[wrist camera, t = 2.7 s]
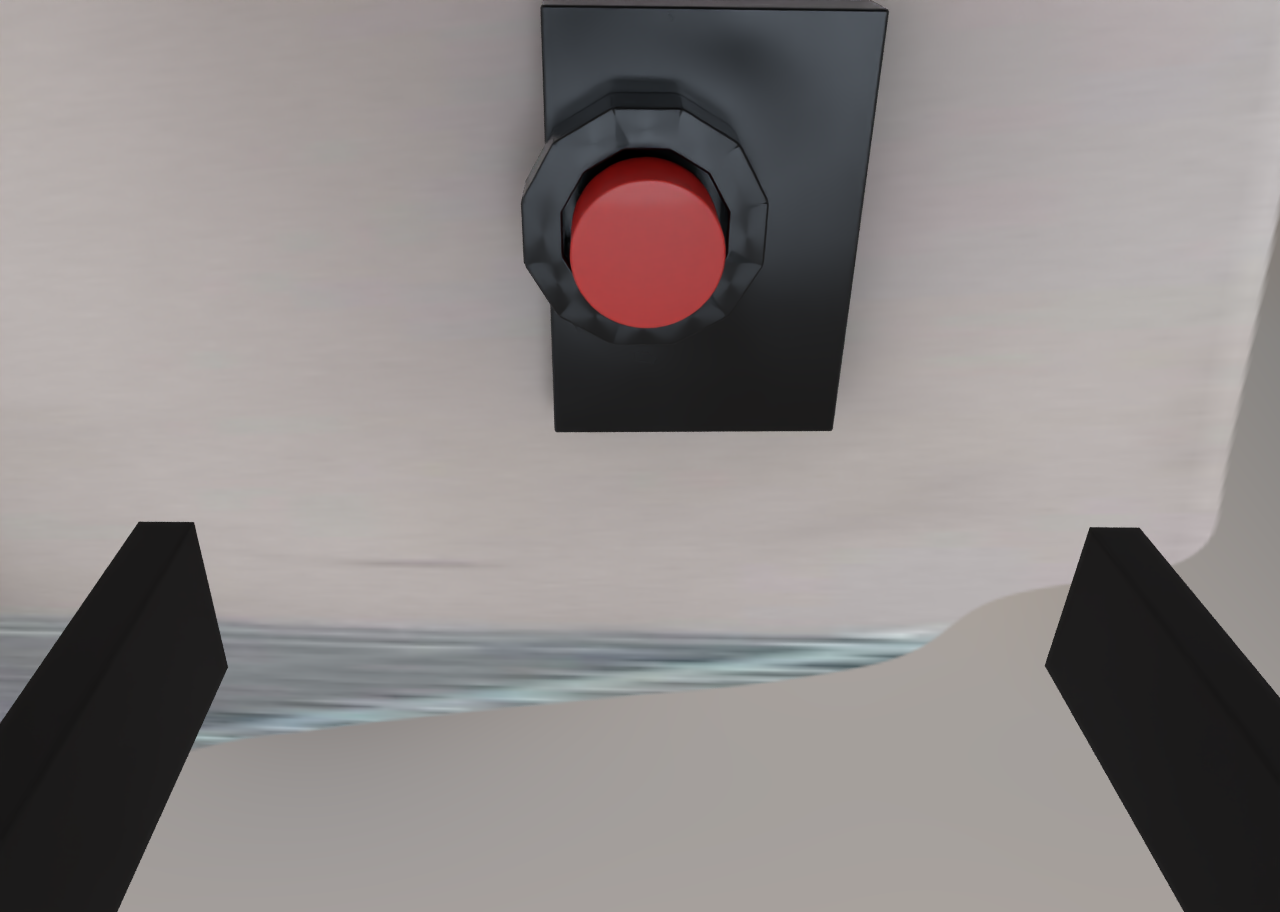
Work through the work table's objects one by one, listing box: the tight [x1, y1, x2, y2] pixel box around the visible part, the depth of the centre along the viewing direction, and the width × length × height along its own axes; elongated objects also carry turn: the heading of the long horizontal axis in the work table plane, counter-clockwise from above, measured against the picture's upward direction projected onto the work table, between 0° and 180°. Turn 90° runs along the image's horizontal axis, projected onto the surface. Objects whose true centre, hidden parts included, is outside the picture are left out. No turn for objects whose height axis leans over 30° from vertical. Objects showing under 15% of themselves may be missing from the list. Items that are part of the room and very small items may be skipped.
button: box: [570, 157, 726, 328], centre depth 29 cm, size 4×4×2 cm
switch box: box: [521, 0, 889, 432], centre depth 32 cm, size 14×11×4 cm
